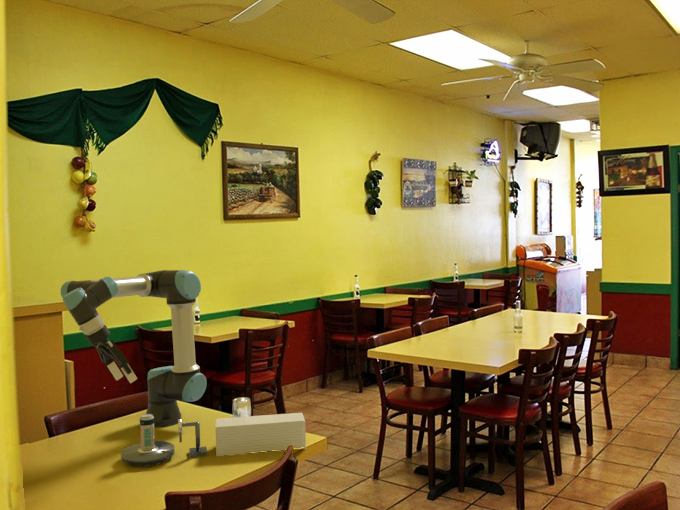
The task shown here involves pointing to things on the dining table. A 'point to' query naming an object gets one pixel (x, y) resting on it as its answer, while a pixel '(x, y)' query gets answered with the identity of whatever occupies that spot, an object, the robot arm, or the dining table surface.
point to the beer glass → (241, 407)
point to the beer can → (147, 432)
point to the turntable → (147, 453)
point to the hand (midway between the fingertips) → (126, 379)
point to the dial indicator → (198, 450)
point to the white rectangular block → (259, 433)
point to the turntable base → (148, 464)
